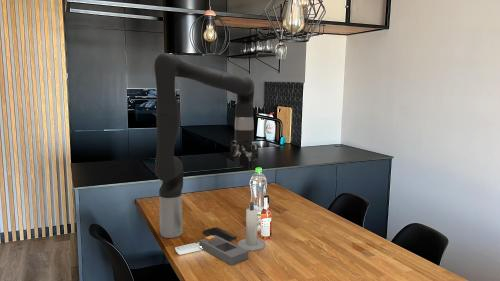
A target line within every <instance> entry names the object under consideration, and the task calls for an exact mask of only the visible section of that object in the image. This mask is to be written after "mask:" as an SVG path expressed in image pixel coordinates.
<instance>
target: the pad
mask: <svg viewBox="0 0 500 281" xmlns="http://www.w3.org/2000/svg"><path fill="white" fill-rule="evenodd" d="M237 246H239V247H241V248H243V249H245V250H247V251H248V252H257V251H261V250H264V248H266V242H265V240H263V239H261V238H257V245H255V246H249V245H247V244H246V238H243V239H241V240H239V241H238V242H237Z"/></svg>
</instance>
